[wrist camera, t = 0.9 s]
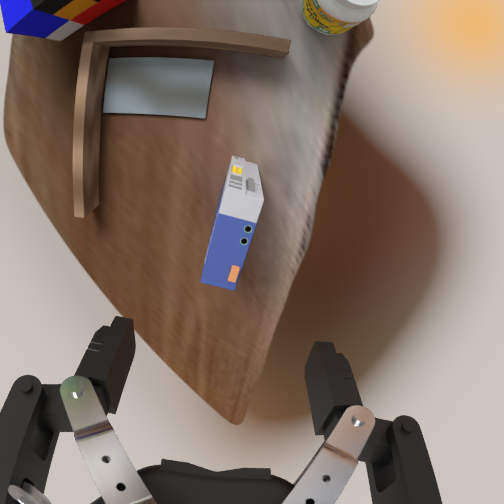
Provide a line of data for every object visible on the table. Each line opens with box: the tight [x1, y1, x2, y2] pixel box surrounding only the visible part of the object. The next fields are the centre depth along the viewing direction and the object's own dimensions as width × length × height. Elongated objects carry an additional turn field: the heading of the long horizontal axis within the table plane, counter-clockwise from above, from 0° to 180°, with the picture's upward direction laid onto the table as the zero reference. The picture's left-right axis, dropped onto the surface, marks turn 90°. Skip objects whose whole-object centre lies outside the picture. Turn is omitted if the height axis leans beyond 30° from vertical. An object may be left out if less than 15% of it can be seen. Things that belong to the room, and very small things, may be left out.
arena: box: [73, 27, 291, 218], centre depth 27 cm, size 19×19×4 cm
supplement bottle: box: [302, 0, 379, 35], centre depth 19 cm, size 5×5×10 cm
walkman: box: [200, 155, 264, 291], centre depth 27 cm, size 8×3×12 cm, turn 163°
